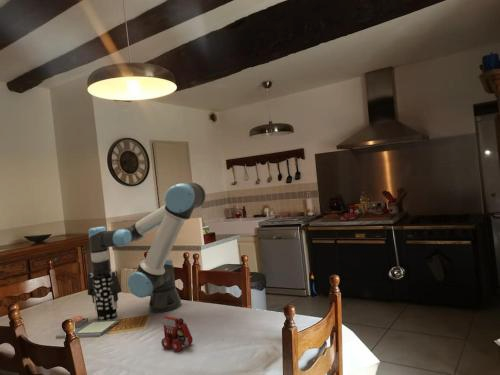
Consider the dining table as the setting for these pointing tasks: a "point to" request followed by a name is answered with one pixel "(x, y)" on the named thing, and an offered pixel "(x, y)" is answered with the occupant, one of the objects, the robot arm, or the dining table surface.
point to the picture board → (90, 328)
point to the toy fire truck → (175, 334)
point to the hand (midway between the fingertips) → (106, 308)
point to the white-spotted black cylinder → (104, 297)
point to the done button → (78, 319)
